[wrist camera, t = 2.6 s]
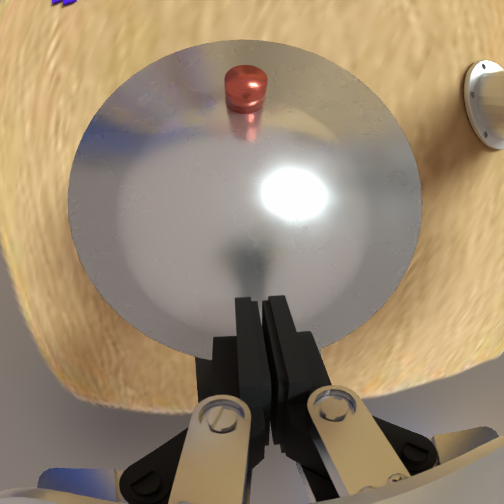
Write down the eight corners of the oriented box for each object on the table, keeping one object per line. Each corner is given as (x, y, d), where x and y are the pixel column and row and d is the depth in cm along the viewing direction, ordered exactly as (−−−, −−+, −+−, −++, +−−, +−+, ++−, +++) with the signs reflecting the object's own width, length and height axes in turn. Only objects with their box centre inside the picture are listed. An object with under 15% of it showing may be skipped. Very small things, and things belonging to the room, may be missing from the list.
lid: (369, 64, 17) (382, 36, 14) (430, 373, 13) (463, 380, 10) (109, 67, 16) (97, 39, 13) (76, 395, 12) (46, 408, 9)
